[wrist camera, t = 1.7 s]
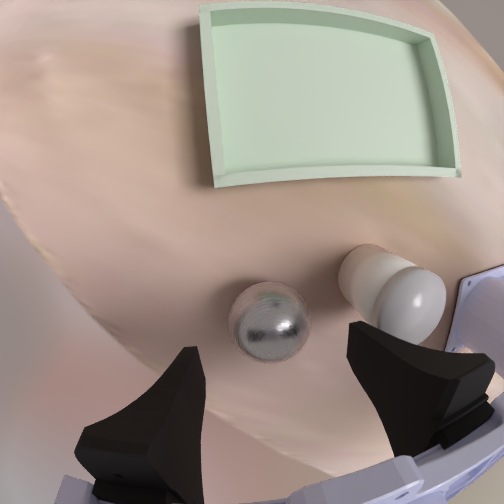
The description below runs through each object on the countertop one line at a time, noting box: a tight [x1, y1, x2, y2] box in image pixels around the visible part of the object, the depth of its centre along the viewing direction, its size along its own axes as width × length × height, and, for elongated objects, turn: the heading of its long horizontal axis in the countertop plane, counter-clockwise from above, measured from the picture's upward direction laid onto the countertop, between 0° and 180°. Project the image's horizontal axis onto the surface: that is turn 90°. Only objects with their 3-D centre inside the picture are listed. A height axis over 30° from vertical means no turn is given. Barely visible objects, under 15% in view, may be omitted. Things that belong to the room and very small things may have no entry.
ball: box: [228, 282, 311, 363], centre depth 15 cm, size 5×5×5 cm
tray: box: [199, 1, 461, 188], centre depth 13 cm, size 16×11×2 cm
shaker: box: [338, 244, 446, 345], centre depth 14 cm, size 4×4×6 cm
